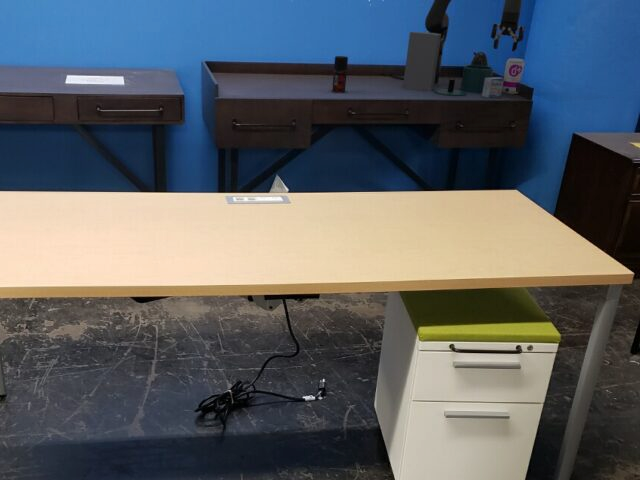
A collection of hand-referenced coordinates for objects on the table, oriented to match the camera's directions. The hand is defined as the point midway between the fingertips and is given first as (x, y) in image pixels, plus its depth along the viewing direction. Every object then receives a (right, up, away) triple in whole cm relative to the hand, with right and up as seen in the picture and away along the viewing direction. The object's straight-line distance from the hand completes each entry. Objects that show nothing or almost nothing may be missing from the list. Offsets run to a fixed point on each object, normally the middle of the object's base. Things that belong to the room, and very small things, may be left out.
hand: (504, 50), depth 351 cm
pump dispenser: (-1, +1, +42) cm, 42 cm away
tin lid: (-21, -14, +15) cm, 29 cm away
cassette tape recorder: (-34, -10, +23) cm, 42 cm away
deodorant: (-74, -15, +11) cm, 76 cm away
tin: (-7, -10, +24) cm, 26 cm away
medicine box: (-3, -17, +12) cm, 21 cm away
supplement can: (+10, -11, +24) cm, 28 cm away
